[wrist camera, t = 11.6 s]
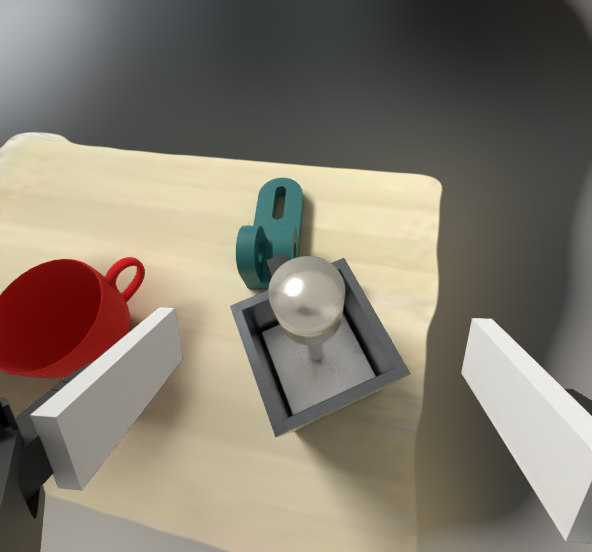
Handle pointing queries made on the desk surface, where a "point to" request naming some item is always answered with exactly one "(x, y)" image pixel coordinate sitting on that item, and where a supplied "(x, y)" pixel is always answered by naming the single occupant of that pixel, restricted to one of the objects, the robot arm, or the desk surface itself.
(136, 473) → the desk surface
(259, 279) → the bracket
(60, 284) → the ceramic cup
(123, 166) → the desk surface
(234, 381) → the desk surface
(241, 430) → the desk surface
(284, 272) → the plunger
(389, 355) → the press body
